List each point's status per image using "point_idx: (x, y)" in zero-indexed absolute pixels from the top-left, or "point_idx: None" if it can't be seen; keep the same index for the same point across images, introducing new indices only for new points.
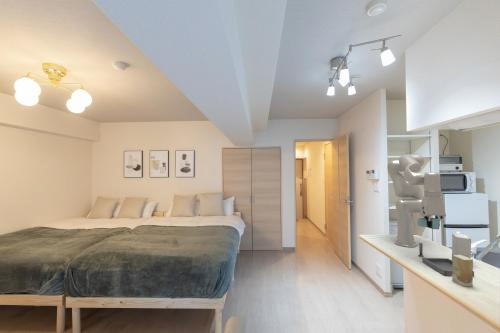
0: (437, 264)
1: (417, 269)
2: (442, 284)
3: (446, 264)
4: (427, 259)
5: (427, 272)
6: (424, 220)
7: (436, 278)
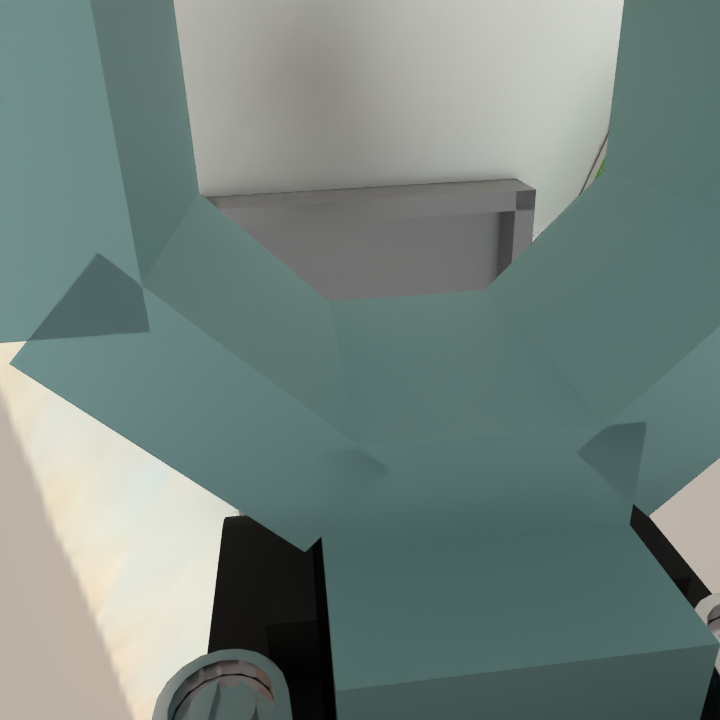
0: (332, 290)
1: (55, 423)
2: (149, 660)
3: (437, 276)
4: (255, 223)
5: (129, 478)
6: (192, 465)
7: (154, 579)
